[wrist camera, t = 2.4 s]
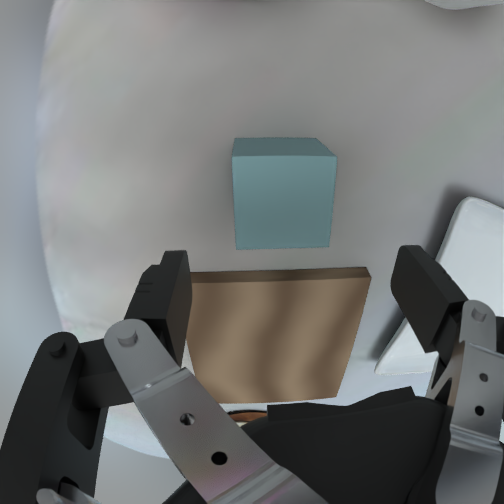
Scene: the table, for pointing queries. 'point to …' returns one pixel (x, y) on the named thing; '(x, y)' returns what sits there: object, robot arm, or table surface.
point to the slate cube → (282, 192)
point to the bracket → (463, 3)
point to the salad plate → (457, 278)
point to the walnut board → (274, 332)
